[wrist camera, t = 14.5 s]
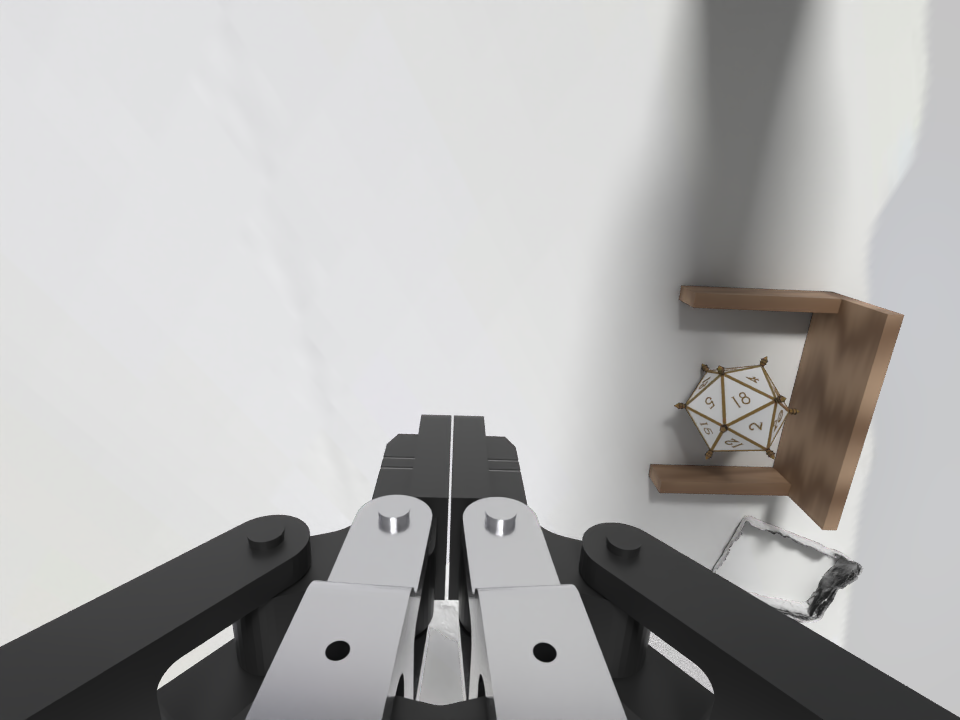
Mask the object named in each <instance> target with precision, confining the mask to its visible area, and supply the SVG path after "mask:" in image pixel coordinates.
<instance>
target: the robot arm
mask: <svg viewBox="0 0 960 720" xmlns="http://www.w3.org/2000/svg"><path fill="white" fill-rule="evenodd" d="M450 442H451V415H421V421H420V428H419V434H398V435H397V436H396V437H395V438H393V439H392V440H391V441H390V442H389V443H388V444H387V446H386V449H385V453H384V459H383V460H382V464H381V469H380V471H379V475H378V479H377V483H376V486H375V490H374V494H373V497H372V500H371V501H369V502H367V503H366V504H364V505H363V506H362V507H361V508H360V509H359V510H358V512H357V514H356V516H355V518H354V520H353V523H352V525H351V526H349V527H347V528H345V529H342V530H339V531H335V532H331V533H326V534H320V535H315V536H310V531H309V528H308V526H307V525H306V524H305V523H304V522H303V521H302V520H300V519H298V518H295V517H292V516H287V515H269V516H263V517H259V518H255V519H252V520H250V521H247V522H245V523H243V524H241V525H239V526H237V527H235V528H233V529H231V530H229V531H227V532H225V533H223V534H221V535H219V536H217V537H215V538H213V539H212V540H210V541H208V542H206V543H204V544H202V545H200V546H198V547H196V548H194V549H192V550H190V551H188V552H186V553H184V554H182V555H180V556H178V557H176V558H174V559H172V560H170V561H168V562H166V563H164V564H162V565H160V566H158V567H156V568H154V569H153V570H151V571H149V572H147V573H145V574H143V575H141V576H139V577H137V578H135V579H133V580H131V581H129V582H127V583H125V584H123V585H121V586H119V587H117V588H115V589H113V590H111V591H109V592H107V593H105V594H103V595H101V596H99V597H97V598H96V599H94V600H92V601H90V602H88V603H86V604H84V605H82V606H80V607H78V608H76V609H74V610H72V611H70V612H68V613H66V614H64V615H62V616H60V617H58V618H56V619H54V620H52V621H50V622H48V623H46V624H44V625H42V626H40V627H39V628H37V629H35V630H33V631H31V632H29V633H27V634H25V635H23V636H21V637H19V638H17V639H15V640H13V641H11V642H9V643H7V644H5V645H3V646H1V647H0V720H960V717H958V716H956V715H955V714H953V713H951V712H950V711H948V710H946V709H944V708H943V707H941V706H939V705H938V704H936V703H934V702H933V701H930V700H929V699H927V698H926V697H924V696H922V695H921V694H919V693H917V692H916V691H914V690H912V689H910V688H909V687H907V686H905V685H904V684H902V683H900V682H899V681H897V680H895V679H894V678H892V677H890V676H889V675H887V674H885V673H883V672H882V671H880V670H878V669H877V668H875V667H873V666H871V665H870V664H868V663H866V662H865V661H863V660H861V659H860V658H858V657H856V656H855V655H853V654H851V653H850V652H848V651H846V650H844V649H843V648H841V647H839V646H838V645H836V644H834V643H833V642H831V641H829V640H828V639H826V638H824V637H822V636H821V635H819V634H817V633H816V632H814V631H812V630H811V629H809V628H807V627H805V626H804V625H802V624H800V623H799V622H797V621H795V620H794V619H792V618H790V617H789V616H787V615H785V614H783V613H782V612H780V611H778V610H777V609H775V608H773V607H772V606H770V605H768V604H767V603H765V602H763V601H761V600H760V599H758V598H756V597H755V596H753V595H751V594H750V593H748V592H746V591H744V590H743V589H741V588H739V587H738V586H736V585H734V584H733V583H731V582H729V581H728V580H726V579H724V578H722V577H721V576H719V575H717V574H716V573H714V572H712V571H711V570H709V569H707V568H706V567H704V566H702V565H700V564H699V563H697V562H695V561H694V560H692V559H690V558H689V557H687V556H685V555H683V554H682V553H680V552H678V551H677V550H675V549H673V548H672V547H670V546H668V545H667V544H665V543H663V542H661V541H660V540H658V539H656V538H655V537H653V536H651V535H650V534H648V533H646V532H644V531H642V530H641V529H638V528H636V527H633V526H630V525H626V524H621V523H601V524H598V525H595V526H592V527H591V528H589V529H588V530H587V531H586V532H585V533H584V535H583V539H582V541H580V540H576V539H572V538H568V537H564V536H560V535H557V534H554V533H552V532H550V531H548V530H546V529H544V528H543V527H541V526H540V524H539V521H538V518H537V516H536V514H535V512H534V511H533V510H532V509H531V508H530V507H529V506H527V501H526V496H525V491H524V486H523V481H522V476H521V472H520V466H519V462H518V456H517V451H516V447H515V446H514V445H513V444H512V443H511V442H510V441H509V440H508V439H507V438H506V437H496V436H486V435H485V425H484V416H454V431H453V459H452V488H451V521H450V555H449V590H448V600H459V615H458V647H459V659H460V671H461V682H462V694H463V701H461V702H457V703H453V704H449V705H443V706H438V705H432V704H428V703H424V702H420V701H419V698H420V692H421V686H422V680H423V673H424V667H425V661H426V655H427V648H428V642H429V634H430V622H431V620H432V618H433V613H434V600H445V580H446V553H447V527H448V500H449V471H450ZM231 624H233V631H234V639H232V640H231V641H229V642H228V643H226V644H225V645H223V646H222V647H220V648H219V649H217V650H216V651H214V652H213V653H211V654H210V655H208V656H207V657H205V658H204V659H203V660H201V661H200V662H198V663H197V664H195V665H194V666H192V667H191V668H189V669H188V670H186V671H185V672H183V673H182V674H180V675H179V676H177V677H176V678H174V679H173V680H171V681H170V682H169V683H167V684H166V685H164V686H163V687H161V688H160V689H158V690H157V687H158V684H159V682H160V680H161V678H162V676H163V675H164V673H165V672H166V671H167V669H168V668H169V667H170V666H171V665H172V664H173V663H174V662H176V661H177V660H178V659H180V658H181V657H182V656H184V655H185V654H187V653H189V652H190V651H192V650H193V649H195V648H196V647H198V646H199V645H201V644H202V643H204V642H205V641H207V640H208V639H210V638H212V637H213V636H215V635H216V634H218V633H219V632H221V631H222V630H224V629H225V628H227V627H228V626H230V625H231ZM650 631H651V632H653V633H654V634H655V635H657V636H658V637H660V638H661V639H662V640H664V641H665V642H666V643H668V644H669V645H670V646H672V647H673V648H674V649H676V650H677V651H679V652H680V653H681V654H683V655H684V656H685V657H687V658H688V659H689V660H691V661H692V662H693V663H695V664H696V665H697V666H698V667H699V668H700V669H701V670H702V671H703V672H704V673H705V674H706V676H707V677H708V679H709V680H710V682H711V684H712V687H713V690H714V694H713V693H711V692H710V691H709V690H708V689H706V688H705V687H704V686H702V685H701V684H700V683H698V682H697V681H696V680H694V679H693V678H692V677H690V676H689V675H688V674H686V673H685V672H684V671H683V670H681V669H680V668H679V667H677V666H676V665H675V664H673V663H672V662H671V661H669V660H668V659H667V658H665V657H664V656H663V655H661V654H660V653H659V652H657V651H656V650H655V649H654V648H652V647H651V646H650V645H648V641H649V636H650Z"/></svg>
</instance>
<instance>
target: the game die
mask: <svg viewBox="0 0 960 720" xmlns="http://www.w3.org/2000/svg"><path fill="white" fill-rule="evenodd" d="M767 362H768V360H767V357H765V358H763V359H761V361H760V365H755V366H745V367H736V368H726V369H724V368H723V367H721V366H718V368H717V370H709V368H708V367H707V365H704V364H702V369H703V371H705V372H706V374H705V375H704V377H703V378H702V380H701V381H700V383H699V384H698V386H697V387H696V389H695V390H694V392H693V393H692V395H691V396H690V398H689V399H688V401H687V403H686V404H683V403H678V404H676V405H674V406H675V407H677V408H678V409H683V408H685V409H686V410H687V412H688V414H689V416H690V417H691V419H692V421H693V422H694V424H695V426H696V427H697V429H698V431H699V433H700V434H701V436H702V438H703V439H704V441H705V443H706V444H707V446H708V448H709V451H708V452H707V453H706V454H705V456H706V460H707V459H709V458H711V456H712V453H713V452H720V451H766V453H767V455H768V457H770V458H772V459H774V460H775V453H773V451H771V450H770V449H769V448H770V446H771V444H772V442H773V441H774V439H775V437H776V435H777V433H778V431H779V430H780V428H781V426H782V424H783V422H784V420H785V419H786V417H787V415H788V413H790V414H791V415H792V414H794V415H796V414H797V413H799V412H800V411H798V410H797V409H796V408H794V409H792V408H791V409H788V407H787V406H786V404H785V400H786V398H785V397H783V396H781V395H780V394H779V392H778V391H777V389H776V387H775V386H774V384H773V382H772V381H771V379H770V377H769V375H768V374H767V372H766V370H765V369H764V366H765V365H766V363H767Z"/></svg>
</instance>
